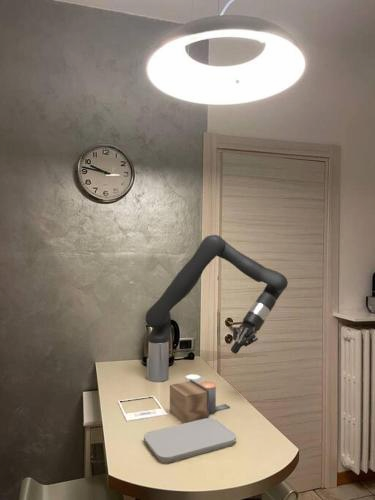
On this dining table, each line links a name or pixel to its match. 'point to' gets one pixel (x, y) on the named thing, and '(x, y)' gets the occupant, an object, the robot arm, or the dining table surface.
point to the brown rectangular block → (190, 402)
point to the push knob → (211, 394)
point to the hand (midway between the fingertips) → (233, 352)
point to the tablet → (188, 439)
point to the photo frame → (143, 412)
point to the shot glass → (193, 378)
